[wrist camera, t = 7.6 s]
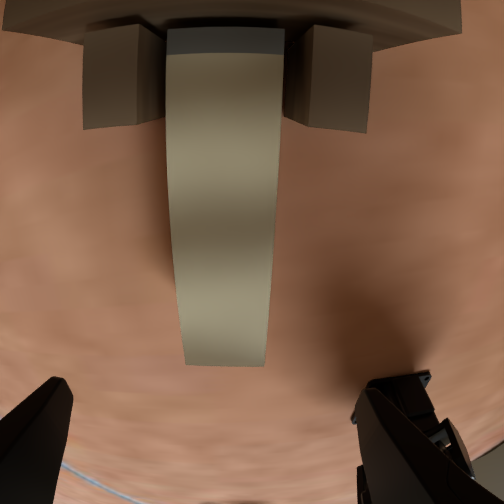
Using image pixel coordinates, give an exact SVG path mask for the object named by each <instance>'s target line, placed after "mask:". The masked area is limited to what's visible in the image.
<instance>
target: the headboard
mask: <svg viewBox="0 0 504 504" xmlns="http://www.w3.org/2000/svg"><path fill="white" fill-rule="evenodd" d="M197 27H260V28H277V29H285V38H284V41H294V42H295V43H294V44H293V45H292V46H291V47H290V48H289V49H288V54H287V74H286V93H285V110H284V117H287V118H289V119H292V120H294V121H296V122H298V123H301V124H303V125H305V126H308V127H315V128H325V129H335V130H343V131H351V132H359V133H366V131H367V121H368V111H369V99H370V85H371V70H372V52H376V51H380V50H384V49H387V48H391V47H396V46H400V45H404V44H408V43H413V42H418V41H422V40H427V39H432V38H438V37H443V36H449V35H455V34H462V19H461V1H460V0H6V4H5V11H4V17H3V25H2V30H3V31H11V32H18V33H24V34H30V35H36V36H42V37H47V38H52V39H57V40H62V41H66V42H71V43H75V44H80V45H84V50H83V83H82V98H83V130H86V129H94V128H104V127H115V126H127V125H138V124H141V123H144V122H148V121H151V120H155V119H158V118H162V117H166V54H167V42H165V41H164V40H167V30H168V29H180V28H197Z"/></svg>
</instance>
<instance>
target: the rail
mask: <svg viewBox="0 0 504 504" xmlns="http://www.w3.org/2000/svg"><path fill="white" fill-rule="evenodd" d="M284 38H285V29H277V28H260V27H197V28H180V29H168V30H167V54H166V153H167V179H168V199H169V215H170V229H171V242H172V254H173V265H174V275H175V285H176V294H177V303H178V311H179V320H180V327H181V335H182V342H183V349H184V356H185V363H186V365H198V366H236V367H263V366H264V364H265V352H266V340H267V328H268V316H269V303H270V290H271V276H272V262H273V248H274V233H275V218H276V202H277V186H278V168H279V150H280V131H281V111H282V89H283V65H284Z"/></svg>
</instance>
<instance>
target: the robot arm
mask: <svg viewBox="0 0 504 504" xmlns="http://www.w3.org/2000/svg"><path fill="white" fill-rule="evenodd" d="M431 377H432V376H431V374H430V372H424V373H418V374H411V375H405V376H398V377H390V378H382V379H374V380H371V381H370V382H369V383H368V384H367V387H366V389H363V390H362V392H361V394H360V396H359V398H358V400H357V403H356V405H355V413H354V415H353V417H352V419H351V421H352V424H357V430H358V438H359V446H360V453H361V458H362V462H363V465H360V466H358V467H357V499H358V504H504V501H502V500H501V499H499V498H498V497H496V496H495V495H494V494H492V493H491V492H489V491H488V490H487V489H485V488H484V487H482V486H481V485H480V484H478V483H477V482H476V481H475V480H476V478H475V474H474V471H473V468H472V464H471V461H470V458H469V455H468V452H467V449H466V447H465V445H464V443H463V441H462V439H461V437H460V435H459V433H458V431H457V429H456V428H455V427H454V425H453V424H452V423H451V421H450V420H449V419H448V417H447V418H446V419H444V420H443V421H442V422H441V423H439V421H438V419H437V417H436V415H435V413H434V410H435V409H434V406H433V404H432V402H431V400H430V398H429V396H428V394H427V392H426V390H425V388H426V386H427V384H428V382H429V381H430V379H431ZM72 406H73V394H72V392H71V390H70V388H69V386H68V384H67V382H66V380H65V379H64V378H60V377H55V376H53V377H51V378H50V379H48V380H47V381H46V382H45V383H44V384H42V385H41V386H40V387H39V388H38V389H36V390H35V391H34V392H33V393H32V394H30V395H29V396H28V397H27V398H26V399H25V400H23V401H22V402H21V403H20V404H19V405H17V406H16V407H15V408H14V409H13V410H12V411H10V412H9V413H8V414H7V415H6V416H5V417H3V418H2V419H1V420H0V504H53V500H54V495H55V490H56V485H57V480H58V476H59V471H60V467H61V463H62V458H63V454H64V450H65V446H66V442H67V437H68V430H69V424H70V417H71V411H72ZM449 443H451V445H450V446H448V447H446V445H447V444H449Z"/></svg>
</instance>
